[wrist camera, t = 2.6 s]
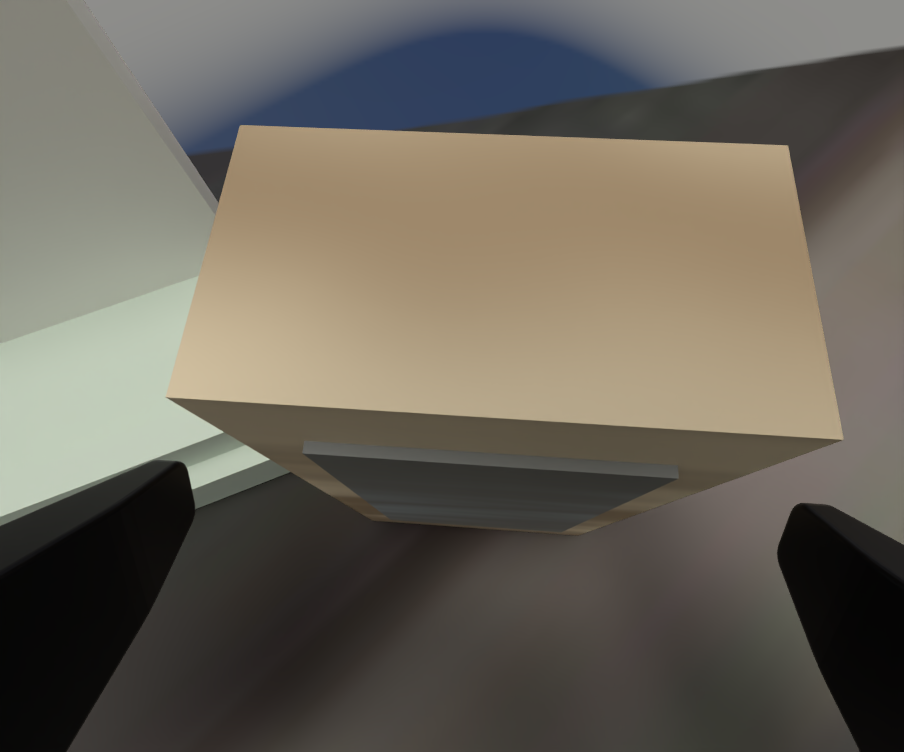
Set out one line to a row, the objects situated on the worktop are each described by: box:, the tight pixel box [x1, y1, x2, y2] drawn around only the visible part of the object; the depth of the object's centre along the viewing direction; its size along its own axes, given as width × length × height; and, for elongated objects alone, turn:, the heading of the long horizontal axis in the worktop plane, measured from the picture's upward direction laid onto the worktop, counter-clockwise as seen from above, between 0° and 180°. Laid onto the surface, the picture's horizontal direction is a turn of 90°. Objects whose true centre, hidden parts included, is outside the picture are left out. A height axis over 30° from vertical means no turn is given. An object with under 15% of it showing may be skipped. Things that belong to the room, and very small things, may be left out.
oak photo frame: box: [166, 125, 844, 535], centre depth 12 cm, size 4×6×12 cm, turn 86°
